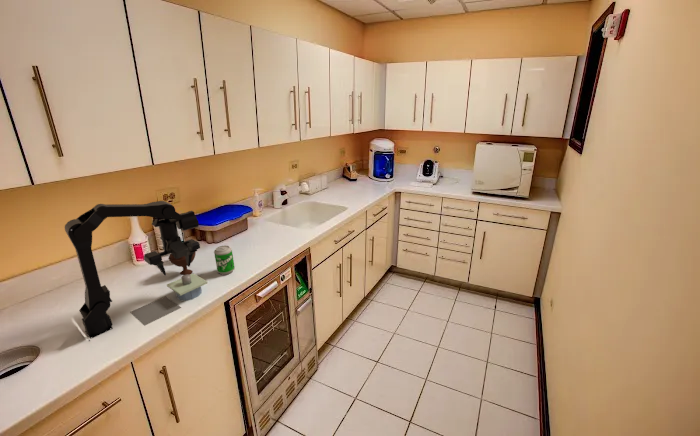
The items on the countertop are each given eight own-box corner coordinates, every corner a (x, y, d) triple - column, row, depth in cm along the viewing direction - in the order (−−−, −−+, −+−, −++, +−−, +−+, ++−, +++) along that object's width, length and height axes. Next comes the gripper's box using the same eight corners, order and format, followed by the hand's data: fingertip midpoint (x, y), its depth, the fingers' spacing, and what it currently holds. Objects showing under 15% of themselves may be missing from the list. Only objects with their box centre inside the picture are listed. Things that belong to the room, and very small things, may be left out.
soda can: (218, 269, 152) (214, 246, 148) (235, 266, 154) (231, 243, 150) (217, 276, 145) (213, 252, 141) (234, 274, 147) (231, 250, 143)
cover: (180, 295, 123) (178, 287, 121) (167, 286, 129) (165, 278, 128) (207, 283, 131) (206, 274, 129) (193, 274, 137) (192, 267, 136)
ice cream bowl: (191, 265, 156) (185, 236, 151) (203, 272, 149) (197, 242, 144) (168, 274, 148) (161, 244, 143) (180, 282, 141) (173, 251, 136)
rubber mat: (144, 327, 114) (144, 325, 113) (130, 313, 121) (129, 311, 121) (181, 308, 123) (181, 307, 123) (166, 297, 131) (165, 295, 130)
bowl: (184, 304, 126) (181, 293, 124) (173, 296, 131) (170, 285, 129) (206, 293, 132) (204, 283, 131) (194, 286, 138) (192, 276, 136)
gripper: (152, 248, 110) (161, 287, 116) (204, 231, 124) (210, 267, 129) (139, 240, 117) (148, 278, 122) (189, 225, 131) (196, 260, 136)
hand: (177, 270), depth 127 cm, fingers open, 9 cm apart
